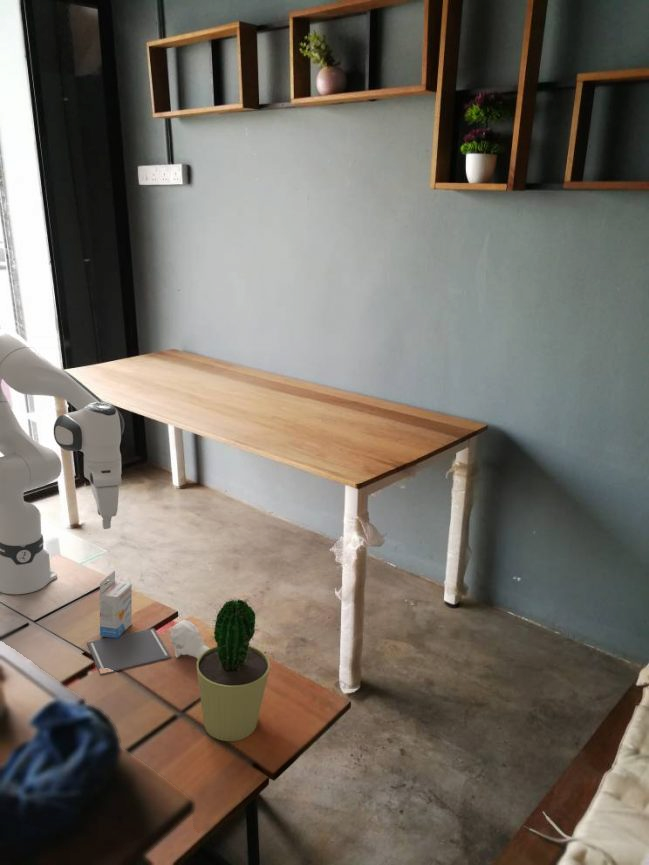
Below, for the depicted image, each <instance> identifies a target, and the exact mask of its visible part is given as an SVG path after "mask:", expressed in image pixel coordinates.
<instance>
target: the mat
mask: <svg viewBox="0 0 649 865" xmlns="http://www.w3.org/2000/svg"><path fill="white" fill-rule="evenodd" d="M86 645H87V646H88V650H89V652H90V653H91V656H92V658H93V661H94V663H95V665H96V668H97V670H98V671H99V669H100V668H109V669H111V670H113V671H114V672H119V671H122V670H127V669H131V668H135V667H138V666H143V665H148V664H152V663H155V662H160V661H164V660H168V659H172V656H171V654H170V652H169V650H168V649H167V647H166V646H165V644H164V643H163V640H161V637H160V635H159V634H158V632H157V630H156V629H155V627H151V628H148V629H143V630H138V631H132V632H129V633H124V634H121V635H120V636H119V637H118V639H116V638H109V637H104V638H102V639H96V640H93V641H88V642H87V643H86ZM114 672H113V673H114Z"/></svg>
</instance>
